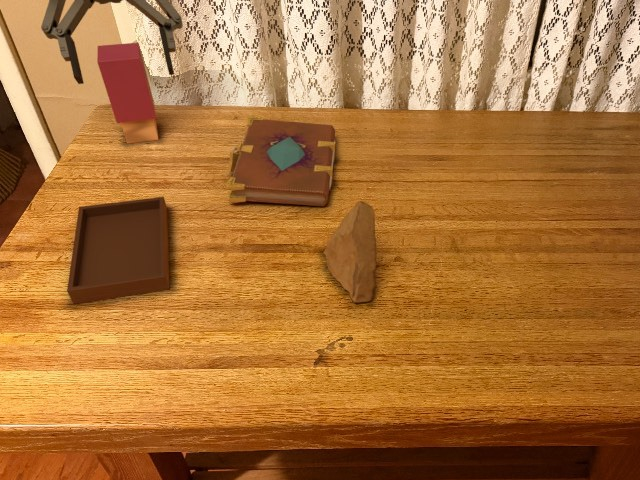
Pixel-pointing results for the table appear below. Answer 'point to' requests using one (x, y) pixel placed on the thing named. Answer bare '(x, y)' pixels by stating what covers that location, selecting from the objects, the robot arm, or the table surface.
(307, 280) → the table surface
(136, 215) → the tray
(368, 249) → the rock
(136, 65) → the top block
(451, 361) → the table surface
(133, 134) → the base block
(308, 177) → the book
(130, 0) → the robot arm
